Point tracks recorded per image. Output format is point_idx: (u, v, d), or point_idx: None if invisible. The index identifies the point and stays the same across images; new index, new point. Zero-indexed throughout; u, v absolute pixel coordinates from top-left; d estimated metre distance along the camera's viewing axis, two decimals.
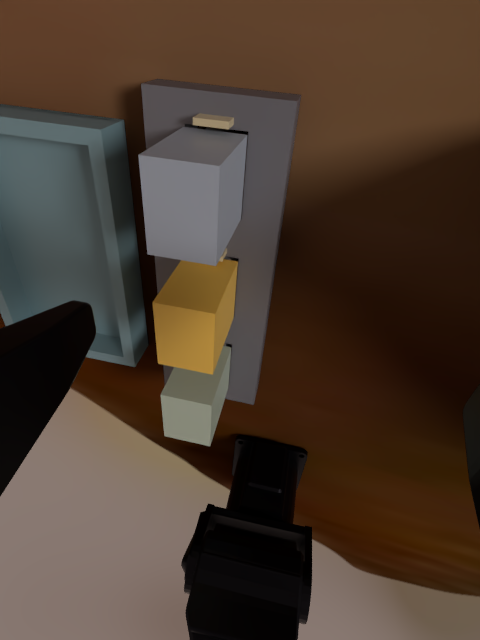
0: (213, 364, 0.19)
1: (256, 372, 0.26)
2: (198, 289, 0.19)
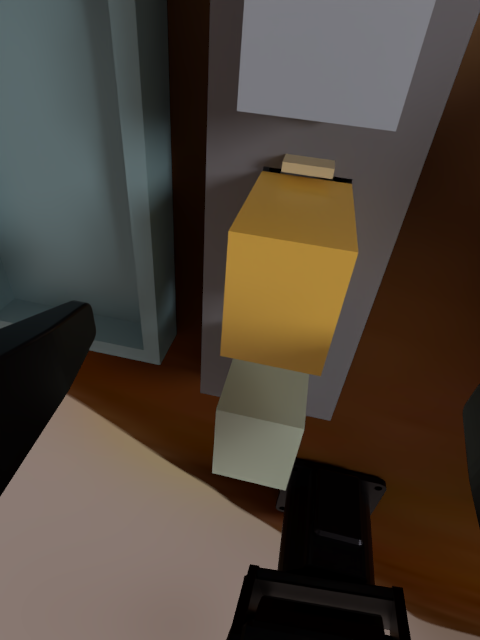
0: (325, 357, 0.11)
1: (344, 373, 0.18)
2: (306, 215, 0.10)
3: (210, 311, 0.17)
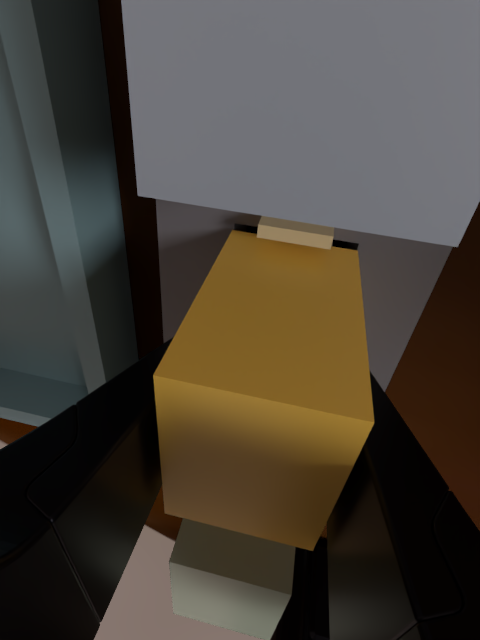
0: None
1: None
2: (289, 325, 0.06)
3: None
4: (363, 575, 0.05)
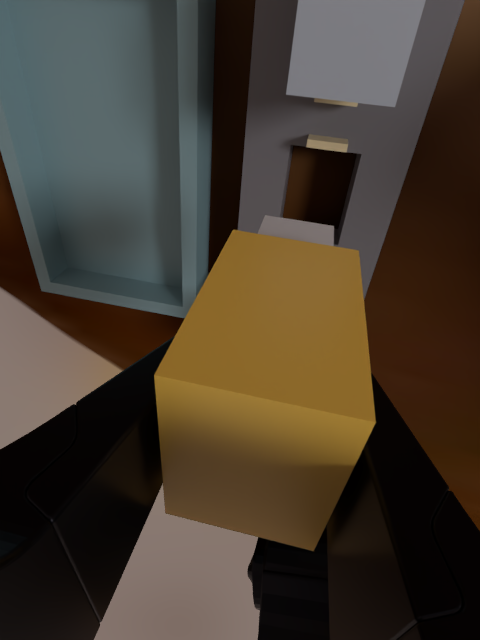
0: None
1: None
2: (290, 325, 0.06)
3: None
4: (363, 575, 0.05)
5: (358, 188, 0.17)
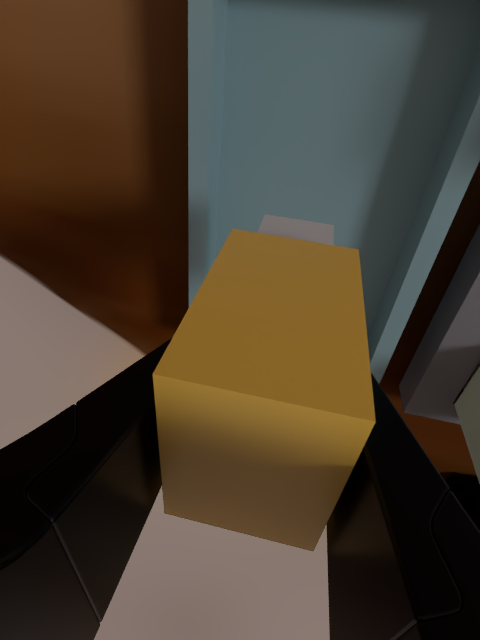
0: None
1: None
2: (290, 324, 0.06)
3: (454, 335, 0.17)
4: (363, 575, 0.05)
5: None
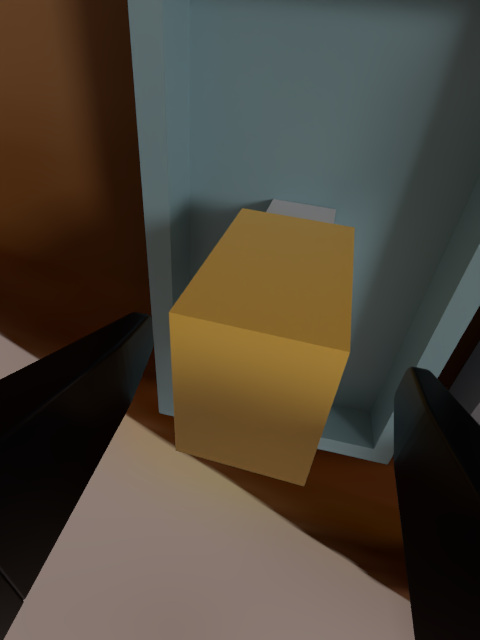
0: None
1: None
2: (286, 282, 0.07)
3: None
4: (472, 603, 0.05)
5: None
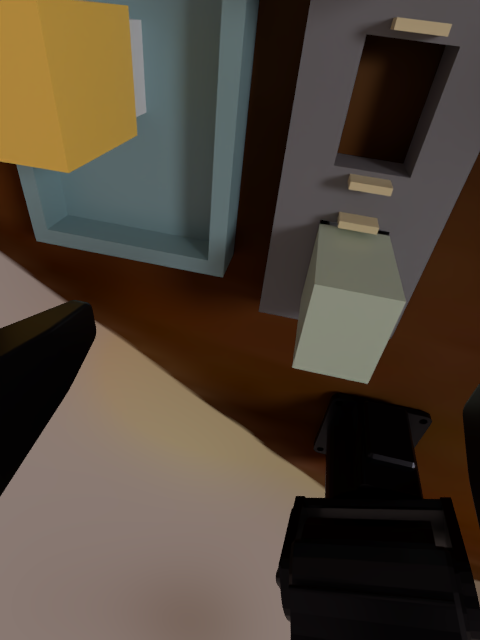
0: (66, 149, 0.11)
1: (414, 282, 0.17)
2: None
3: (283, 213, 0.17)
4: None
5: (448, 97, 0.13)
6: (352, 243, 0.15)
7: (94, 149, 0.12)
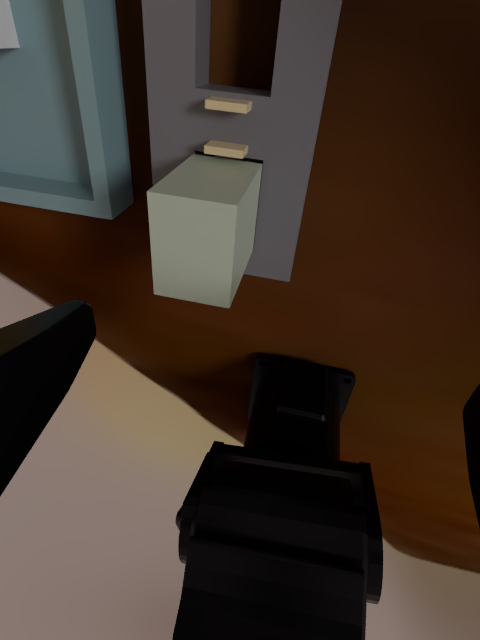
0: None
1: (298, 216, 0.17)
2: None
3: (158, 145, 0.16)
4: None
5: (288, 2, 0.13)
6: (216, 167, 0.15)
7: None
